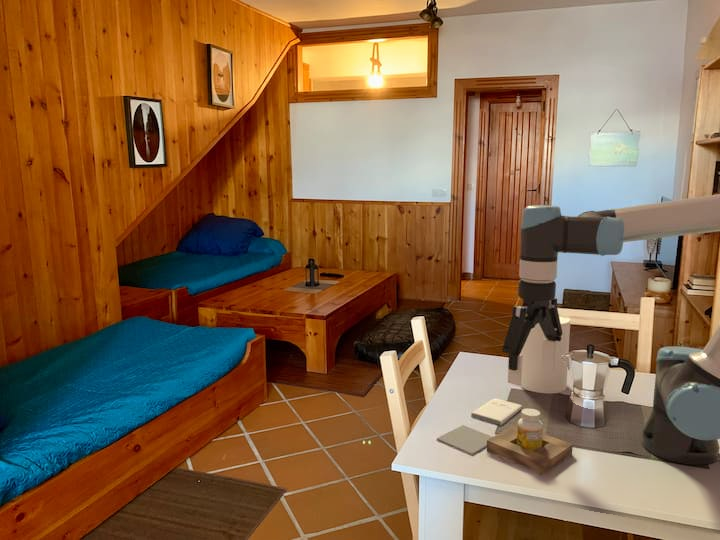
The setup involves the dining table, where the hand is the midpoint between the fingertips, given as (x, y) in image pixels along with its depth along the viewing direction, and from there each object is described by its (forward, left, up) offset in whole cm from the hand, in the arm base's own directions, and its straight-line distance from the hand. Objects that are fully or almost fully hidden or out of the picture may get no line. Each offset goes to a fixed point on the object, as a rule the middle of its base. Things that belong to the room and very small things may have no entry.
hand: (531, 376), depth 122 cm
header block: (0, 0, -18) cm, 18 cm away
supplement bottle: (0, 0, -18) cm, 18 cm away
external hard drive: (+17, -13, -19) cm, 28 cm away
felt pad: (+13, +5, -18) cm, 22 cm away
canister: (+19, -39, -18) cm, 47 cm away
